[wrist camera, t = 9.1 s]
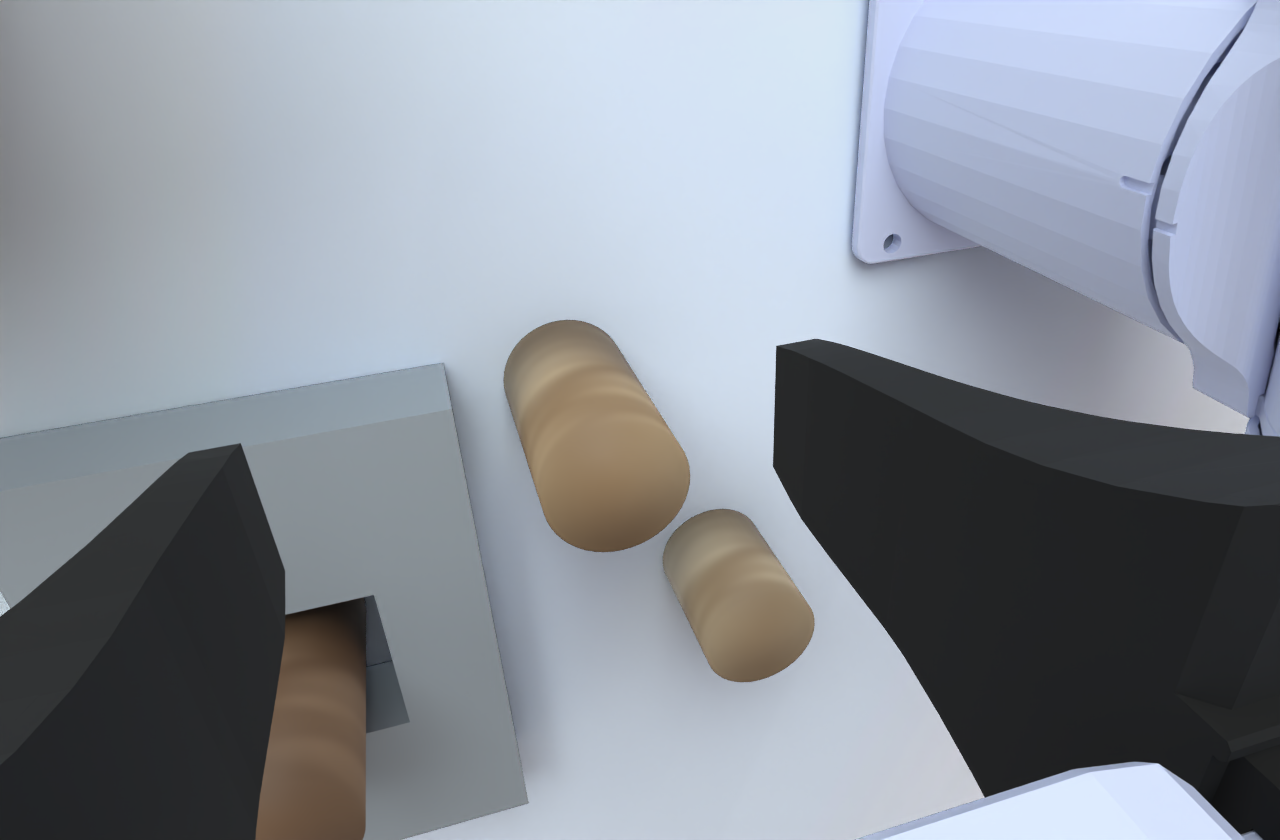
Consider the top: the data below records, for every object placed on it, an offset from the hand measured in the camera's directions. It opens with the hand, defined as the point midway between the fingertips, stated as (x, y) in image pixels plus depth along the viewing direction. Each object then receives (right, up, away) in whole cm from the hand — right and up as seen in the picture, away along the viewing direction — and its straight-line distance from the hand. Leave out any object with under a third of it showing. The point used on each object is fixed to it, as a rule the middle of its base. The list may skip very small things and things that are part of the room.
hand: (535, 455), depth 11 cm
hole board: (-8, -5, +12) cm, 15 cm away
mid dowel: (-1, +2, +11) cm, 11 cm away
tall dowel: (-8, -5, +12) cm, 15 cm away
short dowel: (+4, -4, +15) cm, 16 cm away
